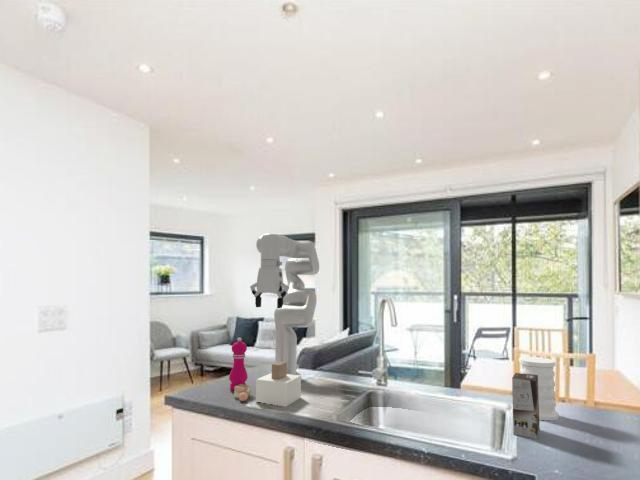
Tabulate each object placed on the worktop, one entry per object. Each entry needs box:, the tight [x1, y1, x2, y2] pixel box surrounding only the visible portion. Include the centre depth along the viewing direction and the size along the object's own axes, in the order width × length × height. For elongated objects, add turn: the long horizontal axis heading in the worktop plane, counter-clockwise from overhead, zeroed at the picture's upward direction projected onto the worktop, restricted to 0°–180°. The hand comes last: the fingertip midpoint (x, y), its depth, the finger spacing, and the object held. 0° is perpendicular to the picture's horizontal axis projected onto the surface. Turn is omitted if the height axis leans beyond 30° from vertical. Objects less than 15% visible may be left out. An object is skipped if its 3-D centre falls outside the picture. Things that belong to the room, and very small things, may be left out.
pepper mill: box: [228, 337, 248, 391], centre depth 167 cm, size 7×7×20 cm
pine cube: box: [233, 384, 251, 399], centre depth 155 cm, size 4×4×4 cm
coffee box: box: [511, 372, 540, 440], centre depth 123 cm, size 9×6×16 cm
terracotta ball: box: [238, 392, 249, 402], centre depth 149 cm, size 3×3×3 cm
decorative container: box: [518, 356, 560, 421], centre depth 139 cm, size 12×12×18 cm
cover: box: [255, 362, 302, 408], centre depth 152 cm, size 12×12×13 cm
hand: (269, 307), depth 166 cm, fingers open, 9 cm apart
